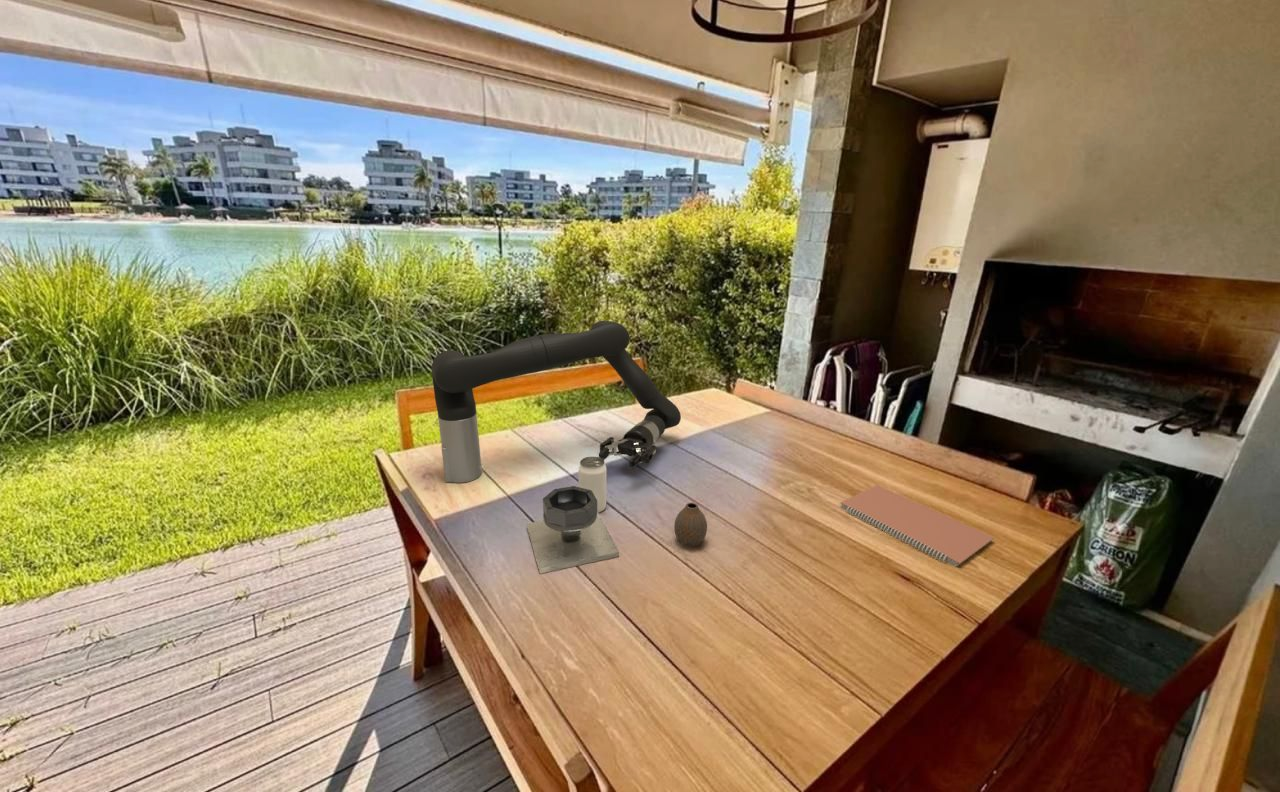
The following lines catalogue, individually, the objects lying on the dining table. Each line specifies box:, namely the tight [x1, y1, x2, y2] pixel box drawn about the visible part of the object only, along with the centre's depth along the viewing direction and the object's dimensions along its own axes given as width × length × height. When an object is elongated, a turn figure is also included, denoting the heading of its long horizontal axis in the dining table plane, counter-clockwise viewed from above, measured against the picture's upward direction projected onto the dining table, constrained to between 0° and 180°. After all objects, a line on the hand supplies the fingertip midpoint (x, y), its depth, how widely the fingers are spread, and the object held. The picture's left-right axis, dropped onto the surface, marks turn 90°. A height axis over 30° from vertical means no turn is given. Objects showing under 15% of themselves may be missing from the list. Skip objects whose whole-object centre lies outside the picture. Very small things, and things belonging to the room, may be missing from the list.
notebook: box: [839, 484, 995, 568], centre depth 114 cm, size 27×17×2 cm, turn 35°
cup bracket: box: [526, 485, 620, 575], centre depth 104 cm, size 16×16×10 cm
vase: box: [673, 502, 708, 547], centre depth 105 cm, size 7×7×9 cm
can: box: [578, 455, 607, 513], centre depth 116 cm, size 6×6×12 cm
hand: (615, 461), depth 125 cm, fingers open, 8 cm apart
